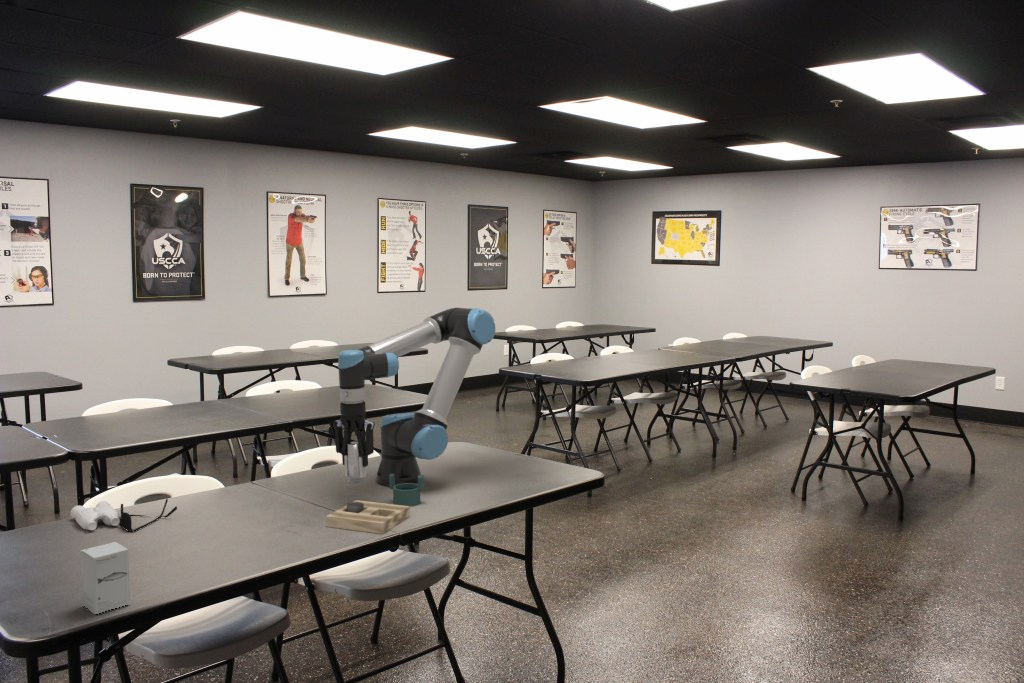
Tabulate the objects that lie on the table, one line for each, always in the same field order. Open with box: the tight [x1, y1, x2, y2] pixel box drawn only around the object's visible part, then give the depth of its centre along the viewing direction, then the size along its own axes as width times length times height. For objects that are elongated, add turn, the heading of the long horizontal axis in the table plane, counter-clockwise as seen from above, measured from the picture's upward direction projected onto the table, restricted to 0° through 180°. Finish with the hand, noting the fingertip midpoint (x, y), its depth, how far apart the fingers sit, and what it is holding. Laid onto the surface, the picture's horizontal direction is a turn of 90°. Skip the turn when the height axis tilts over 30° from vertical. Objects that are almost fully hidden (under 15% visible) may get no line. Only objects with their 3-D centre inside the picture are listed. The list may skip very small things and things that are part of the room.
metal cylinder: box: [347, 441, 364, 485], centre depth 236 cm, size 4×4×12 cm
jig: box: [326, 499, 411, 535], centre depth 221 cm, size 16×18×4 cm
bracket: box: [388, 474, 425, 508], centre depth 239 cm, size 9×9×9 cm
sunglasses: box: [119, 498, 178, 533], centre depth 221 cm, size 17×14×5 cm
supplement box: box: [79, 541, 131, 615], centre depth 165 cm, size 7×7×13 cm
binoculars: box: [69, 500, 121, 531], centre depth 219 cm, size 10×16×5 cm, turn 41°
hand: (355, 475), depth 236 cm, fingers closed on metal cylinder, 4 cm apart
